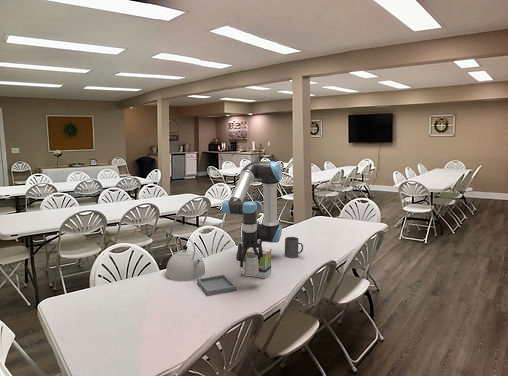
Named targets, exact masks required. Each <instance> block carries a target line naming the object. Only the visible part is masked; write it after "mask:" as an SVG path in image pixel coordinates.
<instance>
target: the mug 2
mask: <svg viewBox="0 0 508 376" xmlns="http://www.w3.org/2000/svg"><path fill="white" fill-rule="evenodd" d="M299 245H301V246H300V247H301V248H300V251H299ZM303 251H304V245H303V243H301V242H299V238H298V237H296V236H287V237H285V239H284V257H286V258H290V259H291V258H292V259H293V258H298V256H299V254H302V253H303Z"/></svg>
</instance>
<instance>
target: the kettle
mask: <svg viewBox="0 0 508 376" xmlns="http://www.w3.org/2000/svg"><path fill="white" fill-rule="evenodd" d="M181 238H184V239H187V240H188V241H189V242H191V244H192V247H193V250H191V249H188V246H187V245H183V246H182V250H180V249H179V245H178V243H179V240H180V239H181ZM175 245H176V247H175V248H176V250H177V252H176V253H173V255H171V257H170V258H169V260H168V262H167V264H166V275H165V277H166V278H167V279H170V280H172V281H178V282H179V281H180V282H188V281H194V280H197V279H200V278H203V277H204V276H205V274H206V268H205V267H206V266H205V263H204V260H203V258H202V257H201V255H200V254H198V253H197V252H196V246H195V243H194V242H193V240H192V239H191V238H189V237H187V236H186V235H185V236H183V235H180V236H179V237H178V238H177V239H176V244H175Z"/></svg>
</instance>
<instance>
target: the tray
mask: <svg viewBox="0 0 508 376" xmlns="http://www.w3.org/2000/svg"><path fill="white" fill-rule="evenodd" d="M196 283H197V285H198V286H199V287H200V289H202V292H204V294H206V296H208V297H209V296H214V295H221V294H226V293H231V292H235V291H237V289H238V288H237V284H235V283H234V282H233V281H232V280H231V279H230V278H228V276H226V275H225V274H220V275H214V276H207V277H200V278H198V279H196Z"/></svg>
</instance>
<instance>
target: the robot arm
mask: <svg viewBox="0 0 508 376" xmlns="http://www.w3.org/2000/svg"><path fill="white" fill-rule="evenodd" d="M282 174H283V171H282V167H281V164H280V163H279V162H278V161H273V160H272V161H271V160H269V161H266V160H265V161H263V160H262V161H261V160H259V161H258V160H255V161H251V162H249V163H248V164H246V165H245V166H244V167H243V168H242V169H241V171H240V173H239V178H238V181H237V183H236V185H235V187H234V189H233V191H232V194H231V196H230V198H229V199H228V200H224V201H223V202H222V205H221V211H222V213H223V214H226V215H235V216H238V215H239V216H242V226H241V242H239V241H237V252H236V261H237V262H239V267H240V269H241V274H242V273H243V274H244V273H245V262H244V258H245V255H246V252H247V250H248V248H253V250H254V253H255V255H257V257H258V264H260V259H261V257H263V251H262V249H263V246H262V245H263V244H262V243H271V244H272V243H273V244H274V243H275V244H276V243H279V242H280V240H281V237H282V230H283V226H282V225H281V224H280V221H279V220H278V203H277V202H278V195H277V194H278V191H277V190H278V188H277V187H278V185H279V184H280V181H281V180H282V177H283V176H282ZM255 180H260V184H261V185H263V186H262V187H263V189H262V191H263V193H262V194H263V204H262V203H261V201H259V200H254V201H253V200H252V201H244V199H245V197H246V195H247V192H248V190H249V188H250V185H251V183H252V182H254V181H255ZM262 211H263V221H261V223H260V221H258V216H259V215H260V214H261V213H262ZM256 248H258V250H259V253H258V251H257V249H256ZM243 274H242V275H243Z"/></svg>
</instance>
